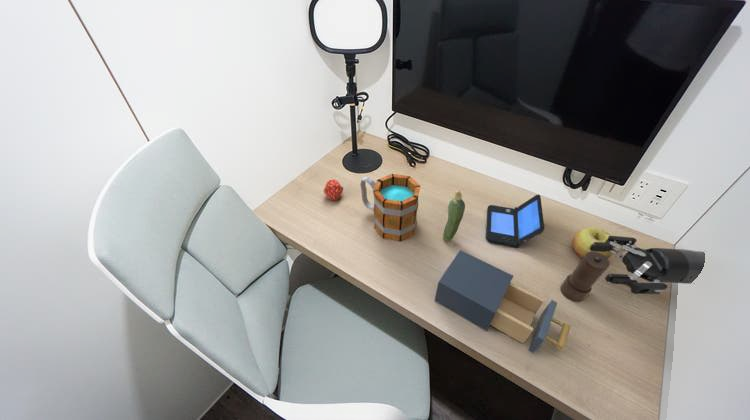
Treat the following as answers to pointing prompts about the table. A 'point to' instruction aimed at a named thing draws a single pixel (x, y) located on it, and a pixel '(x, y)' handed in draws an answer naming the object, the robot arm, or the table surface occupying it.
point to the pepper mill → (584, 276)
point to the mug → (393, 205)
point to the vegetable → (454, 216)
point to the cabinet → (472, 289)
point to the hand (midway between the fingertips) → (599, 261)
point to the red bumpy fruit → (333, 189)
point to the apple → (589, 241)
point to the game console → (515, 223)
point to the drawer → (527, 318)
